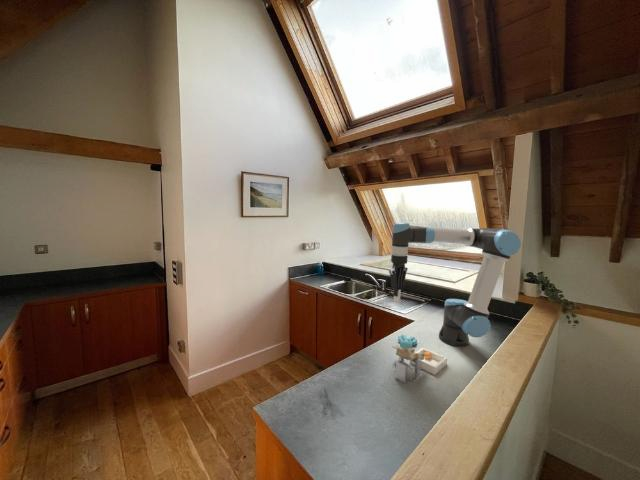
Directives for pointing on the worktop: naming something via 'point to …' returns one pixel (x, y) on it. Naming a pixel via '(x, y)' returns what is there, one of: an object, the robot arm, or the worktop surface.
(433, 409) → the worktop surface
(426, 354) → the ball
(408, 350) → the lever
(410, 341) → the toy
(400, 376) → the fulcrum
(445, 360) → the dish
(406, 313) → the worktop surface
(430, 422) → the worktop surface
